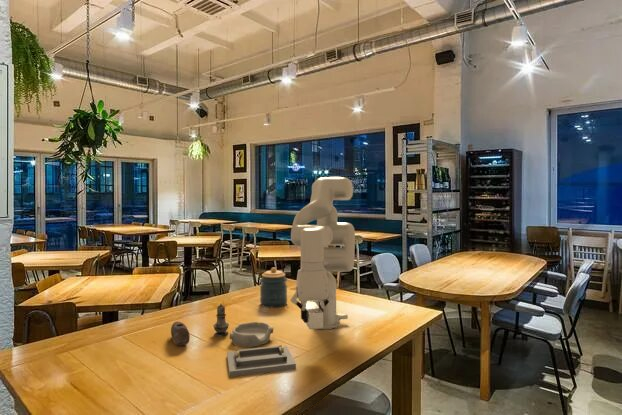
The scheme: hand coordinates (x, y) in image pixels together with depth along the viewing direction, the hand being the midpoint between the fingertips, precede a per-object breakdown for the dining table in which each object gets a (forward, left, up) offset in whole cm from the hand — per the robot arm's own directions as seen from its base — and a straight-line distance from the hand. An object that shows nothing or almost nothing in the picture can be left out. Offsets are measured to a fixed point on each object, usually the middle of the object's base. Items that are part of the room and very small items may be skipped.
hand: (312, 319), depth 129 cm
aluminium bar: (0, 0, -1) cm, 1 cm away
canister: (+2, -61, -12) cm, 63 cm away
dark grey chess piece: (+28, -27, -12) cm, 41 cm away
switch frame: (+17, +1, -12) cm, 21 cm away
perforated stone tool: (+43, -24, -12) cm, 51 cm away
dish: (+18, -18, -12) cm, 29 cm away
